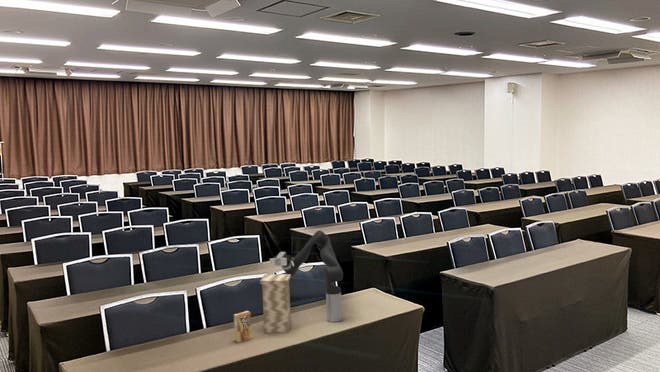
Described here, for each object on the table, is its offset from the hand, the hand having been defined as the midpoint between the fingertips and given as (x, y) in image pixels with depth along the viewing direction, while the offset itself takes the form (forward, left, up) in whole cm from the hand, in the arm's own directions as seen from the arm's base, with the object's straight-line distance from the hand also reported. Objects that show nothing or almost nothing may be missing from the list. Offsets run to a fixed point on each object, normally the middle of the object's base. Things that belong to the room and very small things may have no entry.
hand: (281, 255), depth 322 cm
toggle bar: (0, +4, -3) cm, 5 cm away
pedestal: (0, +24, -39) cm, 46 cm away
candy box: (+17, +41, -39) cm, 59 cm away
